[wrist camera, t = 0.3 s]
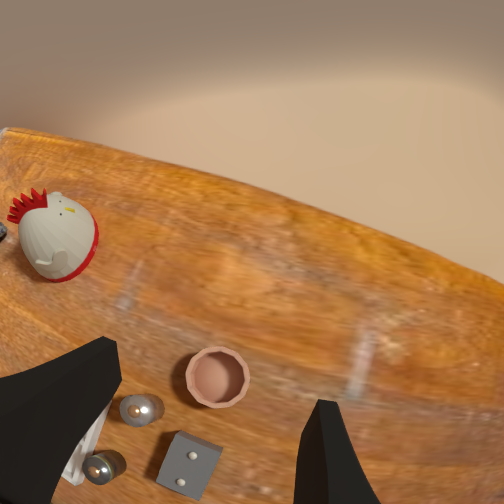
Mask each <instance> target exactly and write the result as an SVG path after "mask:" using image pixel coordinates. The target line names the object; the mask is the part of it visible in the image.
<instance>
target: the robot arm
mask: <svg viewBox="0 0 504 504" xmlns="http://www.w3.org/2000/svg"><path fill="white" fill-rule="evenodd" d="M121 381H122V376H121V370H120V364H119V358H118V351H117V343H116V341H113V340H111V339H109V338H106V337H104V336H102V337H100V338H98V339H96V340H93V341H91V342H89V343H87V344H85V345H83V346H81V347H79V348H77V349H75V350H73V351H71V352H69V353H66V354H64V355H62V356H60V357H58V358H56V359H54V360H51V361H49V362H46V363H44V364H41V365H39V366H37V367H34V368H32V369H29V370H26V371H23V372H20V373H17V374H14V375H10V376H6V377H2V378H0V504H50V502H51V499H52V496H53V494H54V491H55V489H56V486H57V484H58V482H59V479H60V477H61V475H62V473H63V471H64V469H65V467H66V465H67V463H68V461H69V459H70V457H71V456H72V454H73V452H74V450H75V448H76V447H77V445H78V444H79V442H80V441H81V439H82V438H83V437H84V435H85V434H86V433H87V431H88V430H89V429H90V427H91V426H92V425H93V424H94V422H95V421H96V420H97V418H98V417H99V416H100V414H101V413H102V412H103V410H104V409H105V408H106V406H107V405H108V404H109V402H110V401H111V399H112V398H113V396H114V394H115V392H116V391H117V389H118V387H119V385H120V383H121ZM293 504H381V503H380V502H379V500H378V498H377V497H376V495H375V493H374V491H373V490H372V488H371V486H370V484H369V482H368V480H367V478H366V476H365V474H364V472H363V470H362V468H361V465H360V463H359V461H358V459H357V456H356V454H355V451H354V449H353V446H352V444H351V441H350V439H349V436H348V433H347V431H346V428H345V425H344V422H343V419H342V416H341V413H340V410H339V406H338V404H337V402H334V401H327V400H321V399H318V401H317V403H316V405H315V407H314V409H313V412H312V414H311V416H310V418H309V420H308V422H307V424H306V426H305V428H304V430H303V432H302V434H301V440H300V445H299V450H298V456H297V465H296V478H295V490H294V502H293Z"/></svg>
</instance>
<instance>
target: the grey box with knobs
mask: <svg viewBox="0 0 504 504" xmlns="http://www.w3.org/2000/svg"><path fill="white" fill-rule="evenodd" d="M222 450H223V447H220V446H218V445H215V444H213V443H210V442H208V441H205V440H203V439H200V438H198V437H196V436H193V435H191V434H189V433H187V432H184V431H182V430H181V431H179V432H178V433H176V434H175V437H174V439H173V441H172V442H171V445H170V447H169V449H168V452H167V454H166V456H165V459H164V461H163V463H162V466H161V468H160V471H159V475H158V477H157V479H156V482H157V483H159V484H161V485H163V486H165V487H167V488H170V489H172V490H174V491H176V492H179V493H181V494H183V495H186V496H188V497H191V498H193V499H196V500H198V501H199V500H200V498H201V496H202V494H203V492H204V490H205V488H206V486H207V483H208V481H209V479H210V477H211V475H212V473H213V470H214V468H215V466H216V464H217V461H218V459H219V457H220V455H221V453H222Z"/></svg>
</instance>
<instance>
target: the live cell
mask: <svg viewBox="0 0 504 504" xmlns="http://www.w3.org/2000/svg"><path fill="white" fill-rule="evenodd" d="M82 470H83V473H84V475H85V476H86V478H87V479H88V480H89V481H91V482H92V483H94V484H96V485H104V484H106V483H108V482H109V481H111V480H112V479H114V478H116V477H117V476H119V475H120V474H122V473H124V472H125V470H126V461H125V459H124V457H123V456H122V455H121V454H120V453H118V452H117V451H114V450H107V451H105V452H102V453H99V454H97V455H94V456H91V457H88V458H86V459H85V460H84V461H83V463H82Z"/></svg>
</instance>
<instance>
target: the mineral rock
mask: <svg viewBox="0 0 504 504" xmlns="http://www.w3.org/2000/svg"><path fill="white" fill-rule="evenodd" d="M6 232H7V227H6V226H4V224H3V223H2V222H0V238H1V237H2V236H3V235H4V234H5V233H6Z"/></svg>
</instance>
